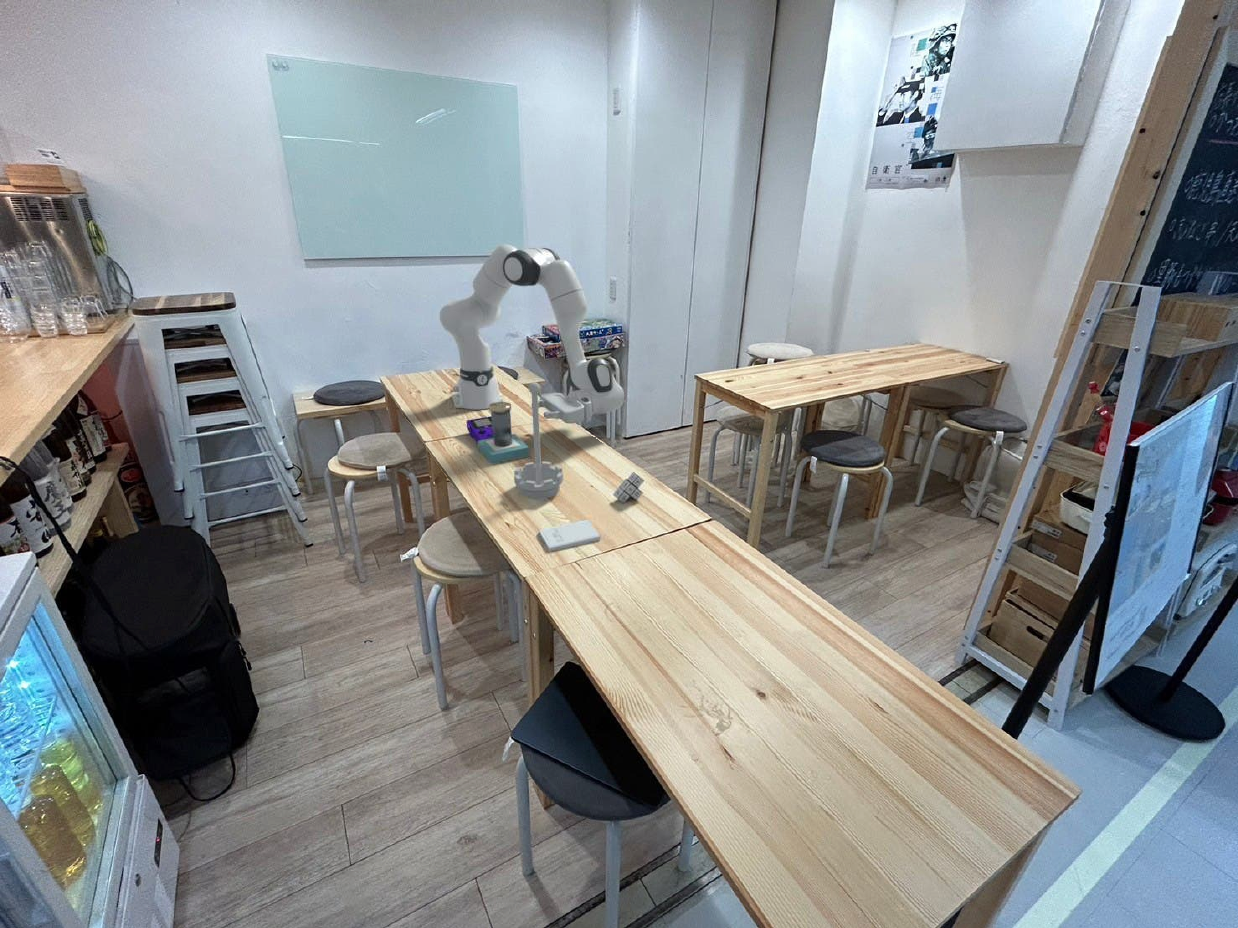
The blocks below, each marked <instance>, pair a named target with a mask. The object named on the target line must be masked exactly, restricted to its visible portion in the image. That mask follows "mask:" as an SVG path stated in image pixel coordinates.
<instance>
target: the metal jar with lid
mask: <svg viewBox="0 0 1238 928" xmlns="http://www.w3.org/2000/svg"><path fill="white" fill-rule="evenodd" d="M488 410H489V412H490V416H491V418H492V429H493V441H494V445H495V446H498V447H506V446H509V445H511V444H512V434H513V432H512V418H511V410H512V404H511V403H510V402H506V401H501V402H495V403H492V404H490V405H489V408H488Z"/></svg>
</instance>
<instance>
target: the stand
mask: <svg viewBox="0 0 1238 928" xmlns="http://www.w3.org/2000/svg"><path fill="white" fill-rule="evenodd" d="M477 445H478V446H477V447H478V451H479V452H480V453H481V454H482V455H483V456H484V458H485V459H486V460H487V461H488V462H489V464H491V465H495V464H499V463H500V464H501V463H506V462H509V461H514V460H518V459H523V458H529V457H530V446H528V445H527V444H526V443H525V442H524V441H523V440H522V439H520V438H519V437H518V435H516V434H515V433H512V444H511V445H509V446H506V447H498V446H495V445H494V441H493V438H490V439H485V440H480V441H478V444H477Z"/></svg>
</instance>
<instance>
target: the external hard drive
mask: <svg viewBox="0 0 1238 928" xmlns="http://www.w3.org/2000/svg"><path fill="white" fill-rule="evenodd" d="M538 535H539V536H541V537H540V538H541V540H542V541H543V542H544V545H545V547H546V549H547V550H548V553H549V552H554V551H558V550H563V549H567V548H572V547H575V546H579V545H584V544H588V543H589V544H590V543H592V542H598V541H601V535H600V532H598V531H597V530H596V528H595V526H594V525H593V524H592V523H591V522H590V519H584V520H581V521H576V522H571V523H567V524H562V525H557V526H553V527H548V528H543V529H539V530H538Z"/></svg>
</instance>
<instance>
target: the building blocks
mask: <svg viewBox="0 0 1238 928" xmlns="http://www.w3.org/2000/svg"><path fill="white" fill-rule="evenodd" d="M644 481H645V480H644V479H642V477H640V476H639V475H638V474H637V473H636V472H635V471H633V472H632V473H631V474H630V475H629V477H628V478H625V479H624V480H623V481H622V483H620V485H619V486H618V488H617V489H616V490H615V491H614V492H613V494H612V495H613V496H614V497H615V498H616V499H617V500H619V501H620V503H622V504H625V503H626V502H627V500H628V499H629V498H630V497H631V498H633V499H634V500H635V501H638V500H639V498H640V497H641V496H642V495H643V494H644V492H643V491H642V490H640V489H639V488H640V487H641V485H642V484H643V483H644Z"/></svg>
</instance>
